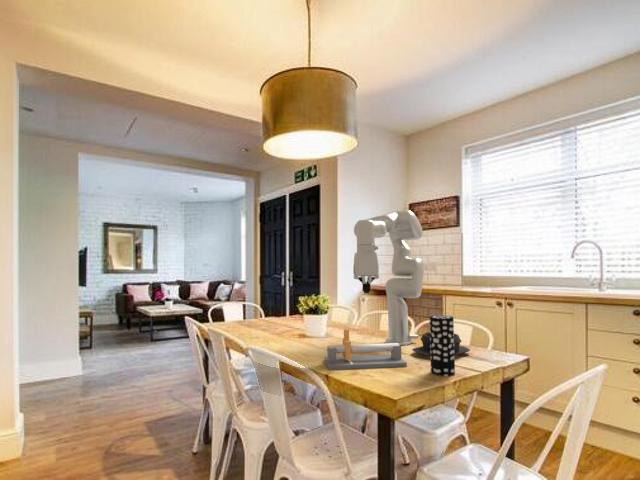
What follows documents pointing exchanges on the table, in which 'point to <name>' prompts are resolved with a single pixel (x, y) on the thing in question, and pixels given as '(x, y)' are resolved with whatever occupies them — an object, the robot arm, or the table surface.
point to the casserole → (426, 345)
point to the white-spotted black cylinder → (442, 345)
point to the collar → (347, 345)
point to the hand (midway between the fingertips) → (366, 293)
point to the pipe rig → (365, 357)
